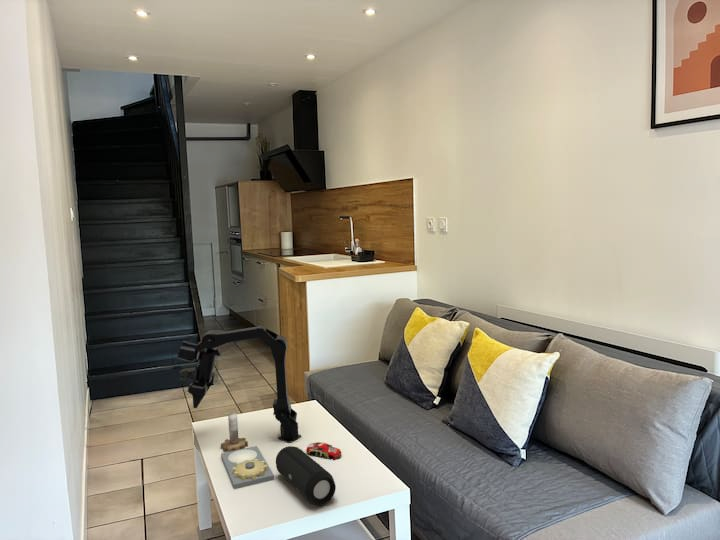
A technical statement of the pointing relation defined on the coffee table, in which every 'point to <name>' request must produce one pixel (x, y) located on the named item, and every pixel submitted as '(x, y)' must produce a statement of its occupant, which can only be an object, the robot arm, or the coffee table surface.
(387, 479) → the coffee table surface
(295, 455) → the portable speaker
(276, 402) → the robot arm
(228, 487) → the coffee table surface
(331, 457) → the race car
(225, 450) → the walnut gear
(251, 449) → the gear board
